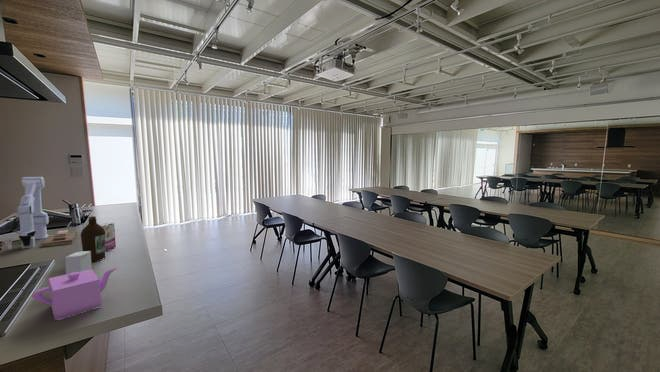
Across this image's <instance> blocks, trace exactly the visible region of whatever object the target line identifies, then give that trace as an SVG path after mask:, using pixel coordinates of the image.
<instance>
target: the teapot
mask: <svg viewBox="0 0 660 372" xmlns="http://www.w3.org/2000/svg"><path fill="white" fill-rule="evenodd" d="M117 269H118V267H115V268H110V269H108V270H106V271H105V272H104V273H103V276H102V278H101V280H100V279H99V277H98V275H97V274H96V273H95V271H94V270H93V268H92V269H89V270H85V271H80V272H73V273H70V274H62V275H57V276H54V277H49V278H48V284H49V285H48V286H46V287H42V288H40V289H37V290H35V291H34V292H33V293H32V295H31V297H32V299H34V300H35V301H37V302H40V303H43V304H46V305H47V304H48V305H50V308H51V307H52V309H51V312H52V311H53V312H52V315H54V316H53V319H55V320H57V319H60V318H65V317H68V316H72V315H75V314H79V313H81V312H84V311H88V310H91V309H93V308H96V307H99V306H101V307H102V302H101V300H102V299H101V293H102V292H103V291H104V290H105V288H106V287H107V284H108V280H109V278H110V275H111V274H112V273H113V272H114V271H116V270H117ZM48 291H49V297H50V299H49V298H47V297H46V296H44V295H43V293H45V292H48ZM88 312H89V311H88ZM79 315H80V314H79ZM75 316H76V315H75ZM72 317H73V316H72ZM55 320H54V321H55Z"/></svg>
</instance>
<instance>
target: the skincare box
mask: <svg viewBox="0 0 660 372" xmlns="http://www.w3.org/2000/svg"><path fill="white" fill-rule="evenodd" d="M64 261H65V262H64V263H65V273H66V274H70V273H73V272H80V271H85V270H89V269H92V270H93V267H92V262H91V251H83V250H81V251H76V252H74V253H71V254H69V255H67V256H65V257H64ZM66 274H65V275H66Z"/></svg>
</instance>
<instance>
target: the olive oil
mask: <svg viewBox="0 0 660 372" xmlns="http://www.w3.org/2000/svg"><path fill="white" fill-rule="evenodd" d="M100 225H101V224H98V222H97V216H93V215H92V216H88V223H87V225H86V226H85V227H84V228H83V229H82V230H81V231H80V241H81V246H82V248H81V250H82V251H91V263H93V262H92V261H95V262H98V261H97V260H100V259H103V258H104V259H105V258H106V252H107V251H106V248H105V230H104V228H103V227H102V226H100ZM104 259H103V260H104ZM100 261H101V260H100Z"/></svg>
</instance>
